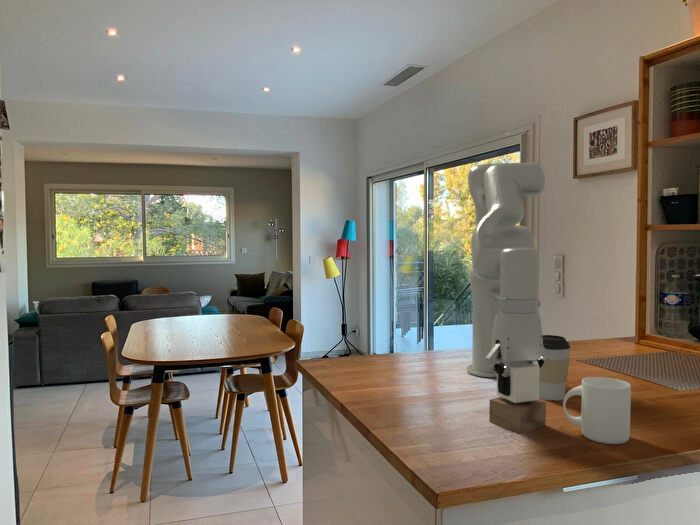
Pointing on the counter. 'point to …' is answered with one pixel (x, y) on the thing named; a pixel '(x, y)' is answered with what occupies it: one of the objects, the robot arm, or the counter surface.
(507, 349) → the robot arm
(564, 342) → the coffee cup
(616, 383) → the mug
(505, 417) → the walnut block
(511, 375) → the cream block
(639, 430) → the counter surface
